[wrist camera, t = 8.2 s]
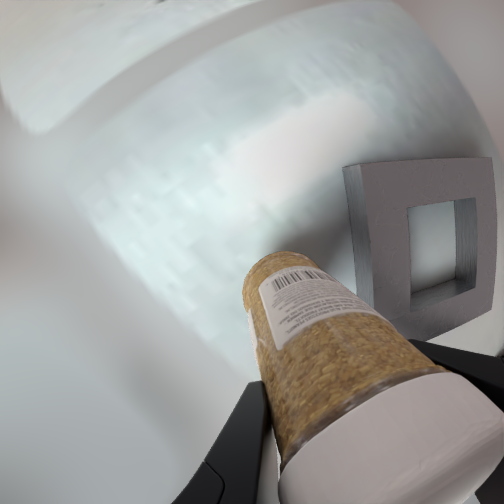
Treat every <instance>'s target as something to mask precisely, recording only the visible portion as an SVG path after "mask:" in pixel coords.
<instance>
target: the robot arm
mask: <svg viewBox="0 0 504 504" xmlns="http://www.w3.org/2000/svg"><path fill="white" fill-rule="evenodd" d="M407 341H408V342H410V343H411V344H412V345H414V347H416V348H417V349H418V350H419V351H420V352H421V353H423V354H424V355H425V356H426V357H428V358H429V359H430V360H431V361H432V362H433V363H434V364H435V365H438V366H442V367H443V368H445V369H446V370H449V371H451V372H452V373H455V374H458V375H461V376H462V377H464V378H465V379H467V380H468V381H469V382H470V383H472V384H473V385H474V386H475V387H476V388H478V389H479V390H480V391H481V392H482V393H483V394H485V395H486V396H487V397H488V398H489V399H490V400H491V401H492V402H493V403H494V404H495V405H496V406H497V407H498V408H499V409H500V410H501V411H502V412H503V413H504V356H503V357H502V358H499V357H494V356H489V355H484V354H479V353H474V352H469V351H464V350H460V349H455V348H450V347H446V346H442V345H437V344H433V343H428V342H424V341H420V340H416V339H408V340H407ZM277 465H278V464H277V448H276V442H275V437H274V432H273V428H272V425H271V418H270V415H269V410H268V405H267V399H266V394H265V389H264V384H263V381H255V382H250V383H248V385H247V387H246V388H245V390H244V392H243V394H242V396H241V397H240V399H239V401H238V403H237V405H236V406H235V408H234V410H233V412H232V413H231V415H230V417H229V419H228V420H227V422H226V424H225V425H224V427H223V429H222V431H221V432H220V434H219V436H218V437H217V439H216V441H215V443H214V444H213V446H212V447H211V449H210V451H209V452H208V454H207V456H206V457H205V459H204V462H202V464H201V465H200V467H199V468H198V470H197V471H196V473H195V474H194V476H193V477H192V479H191V480H190V482H189V483H188V485H187V486H186V487H185V488H184V489H183V491H182V492H181V493H180V494H179V496H178V497H177V498H176V499H175V500H174V501H173V502H172V503H171V504H279V497H278V466H277ZM474 493H475V495H476V497H477V499H478V500H479V502H480V504H504V456H503V458H502V460H501V461H500V463H499V464H498V465H497V467H496V468H495V470H494V471H493V472H492V473H491V474H490V476H489V477H488V478H487V479H486V480H485V481H484V483H483V484H482V485H481V486H480V487H479V488H478V489H477V490H476V491H475V492H474Z"/></svg>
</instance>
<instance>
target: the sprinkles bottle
mask: <svg viewBox="0 0 504 504" xmlns="http://www.w3.org/2000/svg"><path fill="white" fill-rule="evenodd" d="M242 294H243V301H244V307H245V309H246V311H247V313H248V324H249V330H250V335H251V341H252V345H253V350H254V355H255V359H256V362H257V365H258V367H259V370H260V374H261V379H262V381H263V384H264V389H265V394H266V399H267V405H268V410H269V415H270V418H271V425H272V428H273V432H274V437H275V439H276V444H277V447H278V451H279V453H280V456H281V464H280V479H279V482H278V497H279V502H280V504H462V503H463V502H464V501H465V500H466V499H467V498H469V497H470V496H471V495H472V494H473V493H474V492H475V491H476V490H477V489H478V488H479V487H480V486H481V485H482V484H483V483H484V481H485V480H486V479H487V478H488V477H489V476H490V474H491V473H492V472H493V471H494V470H495V468H496V467H497V465H498V464H499V463H500V461H501V460H502V458H503V456H504V413H503V412H502V411H501V410H500V409H499V408H498V407H497V406H496V405H495V404H494V403H493V402H492V401H491V400H490V399H489V398H488V397H487V396H486V395H485V394H483V393H482V392H481V391H480V390H479V389H478V388H476V387H475V386H474V385H473V384H472V383H470V382H469V381H468V380H467V379H465V378H464V377H462V376H461V375H458V374H455V373H452V372H451V371H449V370H446V369H445V368H443V367H442V366H438V365H435V364H434V363H433V362H432V361H431V360H430V359H429V358H428V357H426V356H425V355H424V354H423V353H421V352H420V351H419V350H418V349H417V348H416V347H414V345H412V344H411V343H410V342H408V341H407V340H406V339H405V338H404V337H403V336H402V335H401V334H400V333H398V332H397V330H396V329H395V327H394V326H393V325H392V324H391V323H390V322H389V321H388V320H387V319H385V318H384V317H383V316H382V315H380V314H379V313H378V312H377V311H375V310H374V309H373V308H371V307H370V306H369V305H368V304H366V303H365V302H364V301H363V300H361V299H360V298H359V297H358V296H356V295H355V294H354V293H352V292H351V291H350V290H349V289H347V288H346V287H345V286H343V285H342V284H341V283H339V282H338V281H337V280H336V279H334V278H333V277H332V276H330V275H329V274H327V273H325V272H324V271H322V270H320V269H319V267H318V266H317V265H316V264H315V263H314V262H313V261H312V260H311V259H310V258H308V257H307V256H305V255H303V254H300V253H295V252H291V251H289V252H286V251H281V252H276V253H273V254H270V255H268V256H265V257H264V258H263V259H261V260H260V261H258V262H257V263H256V264H255V265H254V266H253V267H252V269H251V270H250V271H249V273H248V274H247V276H246V278H245V281H244V285H243V292H242Z"/></svg>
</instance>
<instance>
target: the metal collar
mask: <svg viewBox="0 0 504 504" xmlns="http://www.w3.org/2000/svg"><path fill="white" fill-rule="evenodd" d="M342 169H343V174H344V181H345V187H346V193H347V200H348V207H349V215H350V223H351V231H352V240H353V250H354V261H355V272H356V286H357V296H358V297H359V298H360V299H361V300H363V301H364V302H365V303H366V304H368V305H369V306H370V307H371V308H373V309H374V310H375V311H377V312H378V313H379V314H380V315H382V316H383V317H384V318H385V319H387V320H388V321H389V322H390V323H391V324H392V325H393V326H394V327H395V329H396V330H397V332H398V333H400V334H401V335H402V336H403V337H404V338H405V339H406V340H408V339H416V340H420V341H424V342H425V341H427V340H430V339H432V338H434V337H437V336H439V335H441V334H443V333H445V332H448V331H450V330H452V329H454V328H456V327H458V326H460V325H462V324H464V323H466V322H468V321H470V320H472V319H474V318H476V317H478V316H480V315H482V314H484V313H486V312H488V311H489V310H491V308H492V301H493V293H494V283H495V272H496V254H497V212H496V195H495V183H494V174H493V166H492V159H491V158H438V159H417V160H402V161H388V162H376V163H365V164H358V165H353V166H348V167H343V168H342ZM452 200H454V207H455V223H456V279H453V280H450V281H448V282H445V283H442V284H439V285H436V286H433V287H431V288H428V289H425V290H422V291H419V292H416V293H413V294H410V293H411V274H410V244H409V228H408V216H407V208H409V207H415V206H421V205H427V204H433V203H440V202H446V201H452Z"/></svg>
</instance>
